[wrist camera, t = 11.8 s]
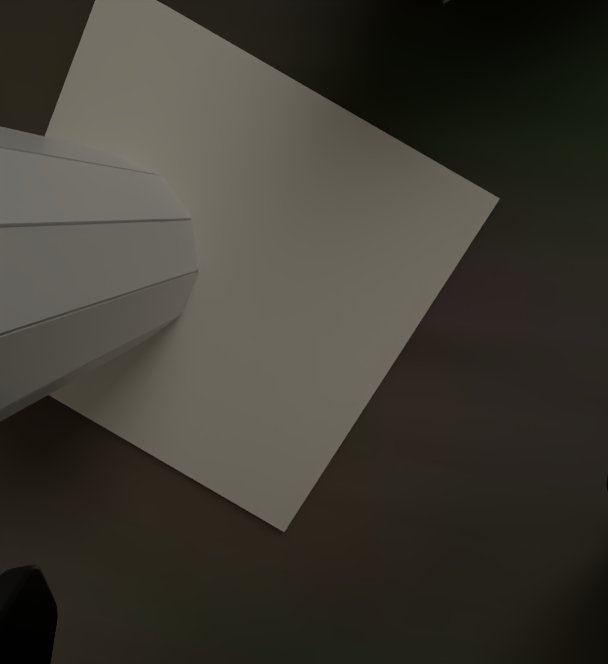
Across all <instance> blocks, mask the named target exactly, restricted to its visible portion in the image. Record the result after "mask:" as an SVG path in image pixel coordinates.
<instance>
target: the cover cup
mask: <svg viewBox="0 0 608 664" xmlns="http://www.w3.org/2000/svg"><path fill="white" fill-rule="evenodd" d="M190 219H191V217H190V215H189V214H188V212H187V211H186V209H185V208H184V207H183V205H182V204H181V202H180V201H179V200H178V198H177V197H176V195H175V194H174V193H173V191H172V190H171V188H170V187H169V185H168V184H167V183H166V181H165V180H164V178H163V177H162V176H160V174H158V173H156V172H154V171H152V170H150V169H148V168H145V167H143V166H141V165H139V164H137V163H135V162H133V161H131V160H129V159H127V158H125V157H123V156H121V155H119V154H116V153H113V152H109V151H104V150H100V149H96V148H91V147H87V146H83V145H78V144H74V143H70V142H65V141H61V140H56V139H52V138H48V137H43V136H39V135H35V134H30V133H26V132H22V131H17V130H13V129H9V128H4V127H0V421H2V420H4V419H6V418H7V417H9V416H11V415H13V414H15V413H16V412H18V411H20V410H22V409H24V408H25V407H27V406H29V405H31V404H33V403H34V402H36V401H38V400H40V399H42V398H43V397H45V396H47V395H49V394H51V393H52V392H54V391H56V390H58V389H60V388H61V387H63V386H65V385H67V384H69V383H70V382H72V381H74V380H76V379H78V378H79V377H81V376H83V375H85V374H87V373H88V372H90V371H92V370H94V369H96V368H97V367H99V366H101V365H103V364H105V363H106V362H108V361H110V360H112V359H114V358H115V357H117V356H119V355H121V354H123V353H124V352H126V351H128V350H130V349H132V348H133V347H135V346H137V345H139V344H141V343H142V342H144V341H146V340H147V339H149V338H150V337H151V336H153V335H154V334H156V333H157V332H158V331H160V330H161V329H163V328H164V327H165V326H167V325H168V324H169V323H171V322H172V321H174V320H175V319H176V318H178V317H179V316H180V315H181V314H182V312H183V309H184V307H185V304H186V302H187V299H188V297H189V294H190V292H191V289H192V287H193V284H194V282H195V279H196V277H197V274H198V272H199V271H196V270H199V266H198V259H197V251H196V244H195V236H194V229H193V221H192V220H190Z"/></svg>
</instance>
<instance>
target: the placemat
mask: <svg viewBox="0 0 608 664" xmlns="http://www.w3.org/2000/svg"><path fill="white" fill-rule="evenodd" d="M45 137H48V138H52V139H56V140H61V141H65V142H70V143H74V144H78V145H83V146H87V147H91V148H96V149H100V150H104V151H109V152H113V153H116V154H119V155H121V156H123V157H125V158H127V159H129V160H131V161H133V162H135V163H137V164H139V165H141V166H143V167H145V168H148V169H150V170H152V171H154V172H156V173H158V174H160V176H162V177H163V178H164V180H165V181H166V183H167V184H168V185H169V187H170V188H171V190H172V191H173V193H174V194H175V195H176V197H177V198H178V200H179V201H180V202H181V204H182V205H183V207H184V208H185V209H186V211H187V212H188V214H189V215H190V217H191V219H190V220H192V221H193V229H194V236H195V244H196V251H197V259H198V266H199V270H196V271H199V272H198V274H197V277H196V279H195V282H194V284H193V287H192V289H191V292H190V294H189V297H188V299H187V302H186V304H185V307H184V309H183V312H182V314H181V315H180V316H179V317H178V318H176V319H175V320H174V321H172V322H171V323H169V324H168V325H167V326H165V327H164V328H163V329H161V330H160V331H158V332H157V333H156V334H154V335H153V336H151V337H150V338H149V339H147V340H146V341H144V342H142V343H141V344H139V345H137V346H135V347H133V348H132V349H130V350H128V351H126V352H124V353H123V354H121V355H119V356H117V357H115V358H114V359H112V360H110V361H108V362H106V363H105V364H103V365H101V366H99V367H97V368H96V369H94V370H92V371H90V372H88V373H87V374H85V375H83V376H81V377H79V378H78V379H76V380H74V381H72V382H70V383H69V384H67V385H65V386H63V387H61V388H60V389H58V390H56V391H54V392H52V393H51V394H49V396H51V397H53V398H55V399H56V400H58V401H60V402H61V403H63V404H65V405H67V406H68V407H70V408H72V409H74V410H75V411H77V412H79V413H80V414H82V415H84V416H86V417H87V418H89V419H91V420H92V421H94V422H96V423H98V424H99V425H101V426H103V427H104V428H106V429H108V430H110V431H111V432H113V433H115V434H116V435H118V436H120V437H122V438H123V439H125V440H127V441H128V442H130V443H132V444H134V445H135V446H137V447H139V448H140V449H142V450H144V451H146V452H147V453H149V454H151V455H153V456H154V457H156V458H158V459H159V460H161V461H163V462H165V463H166V464H168V465H170V466H171V467H173V468H175V469H177V470H178V471H180V472H182V473H183V474H185V475H187V476H189V477H190V478H192V479H194V480H195V481H197V482H199V483H201V484H202V485H204V486H206V487H207V488H209V489H211V490H213V491H214V492H216V493H218V494H220V495H221V496H223V497H225V498H226V499H228V500H230V501H232V502H233V503H235V504H237V505H238V506H240V507H242V508H244V509H245V510H247V511H249V512H250V513H252V514H254V515H256V516H257V517H259V518H261V519H262V520H264V521H266V522H268V523H269V524H271V525H273V526H274V527H276V528H278V529H280V530H281V531H283V532H285V530H286V529H287V527H288V525H289V524H290V522H291V521H292V519H293V518H294V516H295V515H296V513H297V511H298V510H299V508H300V507H301V505H302V504H303V502H304V501H305V499H306V498H307V496H308V494H309V493H310V491H311V490H312V488H313V487H314V485H315V484H316V482H317V481H318V479H319V477H320V476H321V474H322V473H323V471H324V470H325V468H326V467H327V465H328V464H329V462H330V460H331V459H332V457H333V456H334V454H335V453H336V451H337V450H338V448H339V447H340V445H341V443H342V442H343V440H344V439H345V437H346V436H347V434H348V433H349V431H350V430H351V428H352V426H353V425H354V423H355V422H356V420H357V419H358V417H359V416H360V414H361V413H362V411H363V409H364V408H365V406H366V405H367V403H368V402H369V400H370V399H371V397H372V395H373V394H374V392H375V391H376V389H377V388H378V386H379V385H380V383H381V382H382V380H383V378H384V377H385V375H386V374H387V372H388V371H389V369H390V368H391V366H392V365H393V363H394V361H395V360H396V358H397V357H398V355H399V354H400V352H401V351H402V349H403V348H404V346H405V344H406V343H407V341H408V340H409V338H410V337H411V335H412V334H413V332H414V331H415V329H416V327H417V326H418V324H419V323H420V321H421V320H422V318H423V317H424V315H425V314H426V312H427V310H428V309H429V307H430V306H431V304H432V303H433V301H434V300H435V298H436V297H437V295H438V293H439V292H440V290H441V289H442V287H443V286H444V284H445V283H446V281H447V279H448V278H449V276H450V275H451V273H452V272H453V270H454V269H455V267H456V266H457V264H458V262H459V261H460V259H461V258H462V256H463V255H464V253H465V252H466V250H467V249H468V247H469V245H470V244H471V242H472V241H473V239H474V238H475V236H476V235H477V233H478V232H479V230H480V228H481V227H482V225H483V224H484V222H485V221H486V219H487V218H488V216H489V215H490V213H491V211H492V210H493V208H494V207H495V205H496V204H497V202H498V201H499V198H498V197H496V196H494V195H492V194H491V193H489V192H487V191H485V190H484V189H482V188H480V187H479V186H477V185H475V184H473V183H472V182H470V181H468V180H466V179H465V178H463V177H461V176H460V175H458V174H456V173H454V172H453V171H451V170H449V169H447V168H446V167H444V166H442V165H440V164H439V163H437V162H435V161H434V160H432V159H430V158H428V157H427V156H425V155H423V154H421V153H420V152H418V151H416V150H415V149H413V148H411V147H409V146H408V145H406V144H404V143H402V142H401V141H399V140H397V139H396V138H394V137H392V136H390V135H389V134H387V133H385V132H383V131H382V130H380V129H378V128H376V127H375V126H373V125H371V124H370V123H368V122H366V121H364V120H363V119H361V118H359V117H357V116H356V115H354V114H352V113H351V112H349V111H347V110H345V109H344V108H342V107H340V106H338V105H337V104H335V103H333V102H332V101H330V100H328V99H326V98H325V97H323V96H321V95H319V94H318V93H316V92H314V91H312V90H311V89H309V88H307V87H306V86H304V85H302V84H300V83H299V82H297V81H295V80H293V79H292V78H290V77H288V76H287V75H285V74H283V73H281V72H280V71H278V70H276V69H274V68H273V67H271V66H269V65H268V64H266V63H264V62H262V61H261V60H259V59H257V58H255V57H254V56H252V55H250V54H248V53H247V52H245V51H243V50H242V49H240V48H238V47H236V46H235V45H233V44H231V43H229V42H228V41H226V40H224V39H223V38H221V37H219V36H217V35H216V34H214V33H212V32H210V31H209V30H207V29H205V28H204V27H202V26H200V25H198V24H197V23H195V22H193V21H191V20H190V19H188V18H186V17H184V16H183V15H181V14H179V13H178V12H176V11H174V10H172V9H171V8H169V7H167V6H165V5H164V4H162V3H160V2H159V1H157V0H95V3H94V6H93V8H92V11H91V14H90V17H89V19H88V22H87V25H86V27H85V30H84V33H83V35H82V38H81V41H80V43H79V46H78V49H77V51H76V54H75V57H74V59H73V62H72V65H71V67H70V70H69V73H68V75H67V78H66V81H65V83H64V86H63V89H62V91H61V94H60V97H59V99H58V102H57V105H56V107H55V110H54V113H53V116H52V118H51V121H50V124H49V126H48V129H47V132H46V134H45Z"/></svg>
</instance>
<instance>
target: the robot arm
mask: <svg viewBox="0 0 608 664" xmlns="http://www.w3.org/2000/svg"><path fill="white" fill-rule="evenodd" d="M607 490H608V476H607ZM56 625H57V606H56V602H55V600H54V597H53V595H52V593H51V591H50V588H49V586H48V584H47V581H46V579H45V577H44V575H43V572H42V570H41V569H40V568H39V567H38V566H37V565H27V566H23V567H18V568H13V569H10V570H7V571H5V572H4V573H3V574H1V575H0V664H50V663H51V657H52V651H53V644H54V638H55V632H56Z"/></svg>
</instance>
